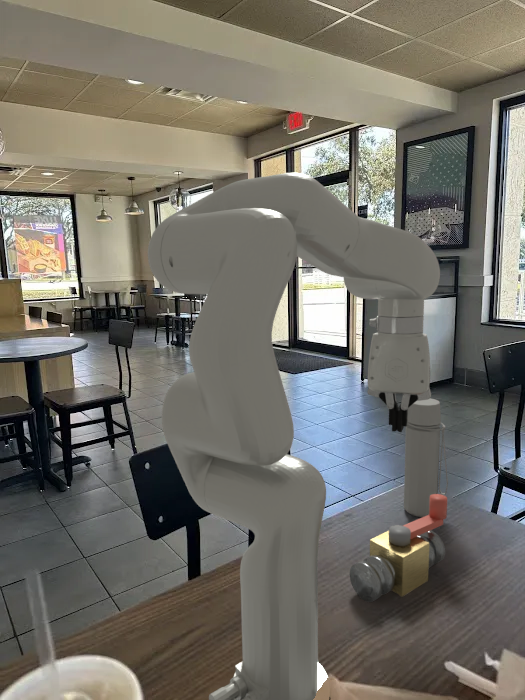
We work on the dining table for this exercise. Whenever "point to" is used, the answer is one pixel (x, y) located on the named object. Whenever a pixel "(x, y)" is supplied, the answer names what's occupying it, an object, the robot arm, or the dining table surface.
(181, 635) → the dining table surface
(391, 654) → the dining table surface
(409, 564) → the valve
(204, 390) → the robot arm
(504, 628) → the dining table surface
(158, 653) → the dining table surface
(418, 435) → the water bottle
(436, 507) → the lever
